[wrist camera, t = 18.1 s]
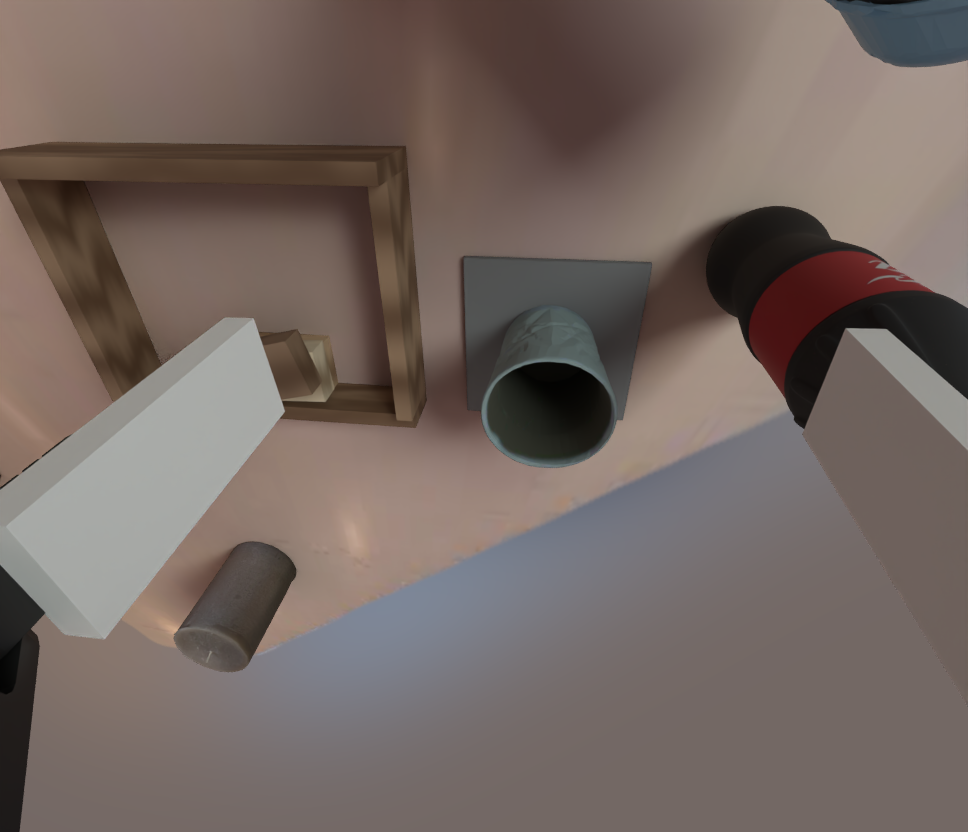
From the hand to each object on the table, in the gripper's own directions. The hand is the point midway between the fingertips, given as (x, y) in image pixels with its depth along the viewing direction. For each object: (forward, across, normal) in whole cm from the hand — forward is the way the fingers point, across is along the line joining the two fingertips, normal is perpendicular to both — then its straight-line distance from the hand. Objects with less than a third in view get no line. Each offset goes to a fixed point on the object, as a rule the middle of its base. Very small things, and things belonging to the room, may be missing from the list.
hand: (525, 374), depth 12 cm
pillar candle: (+32, -40, -53) cm, 74 cm away
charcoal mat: (+33, 0, -16) cm, 37 cm away
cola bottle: (+34, +16, -8) cm, 38 cm away
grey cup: (+33, 0, -16) cm, 37 cm away
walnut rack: (+33, -28, -11) cm, 44 cm away
